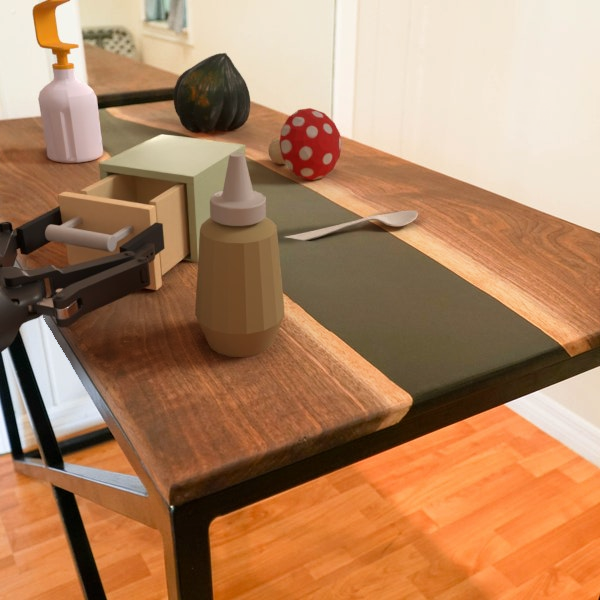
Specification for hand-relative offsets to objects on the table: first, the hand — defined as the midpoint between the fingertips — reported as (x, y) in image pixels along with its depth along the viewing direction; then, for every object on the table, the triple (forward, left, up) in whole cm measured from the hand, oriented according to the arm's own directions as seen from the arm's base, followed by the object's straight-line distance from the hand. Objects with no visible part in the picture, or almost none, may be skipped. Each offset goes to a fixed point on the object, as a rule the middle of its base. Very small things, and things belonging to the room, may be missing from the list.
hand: (111, 226), depth 67 cm
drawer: (0, +3, -6) cm, 7 cm away
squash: (-20, +64, -7) cm, 68 cm away
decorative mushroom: (+5, +46, -7) cm, 47 cm away
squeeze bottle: (+17, -6, -7) cm, 19 cm away
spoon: (+19, +24, -7) cm, 32 cm away
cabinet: (0, +14, -7) cm, 16 cm away
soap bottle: (-33, +38, -7) cm, 51 cm away
